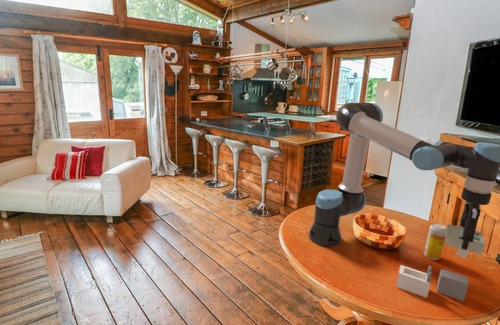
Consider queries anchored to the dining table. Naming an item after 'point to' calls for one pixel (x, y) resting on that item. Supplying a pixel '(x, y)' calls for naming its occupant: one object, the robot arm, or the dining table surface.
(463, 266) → the dining table surface
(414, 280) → the white open box
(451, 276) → the block
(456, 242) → the grey block
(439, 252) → the yellow labelled bottle
